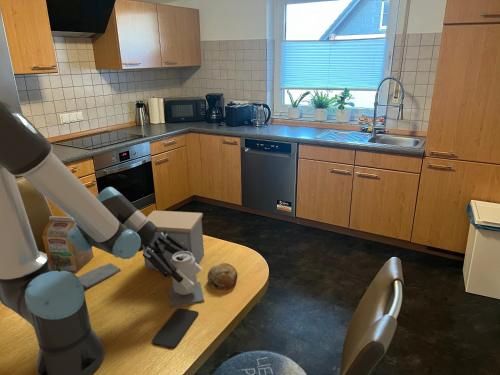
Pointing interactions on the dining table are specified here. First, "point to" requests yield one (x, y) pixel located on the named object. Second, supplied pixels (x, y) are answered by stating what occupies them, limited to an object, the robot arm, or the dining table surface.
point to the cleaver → (98, 275)
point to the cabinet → (179, 231)
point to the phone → (175, 328)
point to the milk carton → (63, 246)
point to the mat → (186, 297)
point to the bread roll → (222, 276)
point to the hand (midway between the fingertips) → (195, 278)
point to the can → (184, 271)
